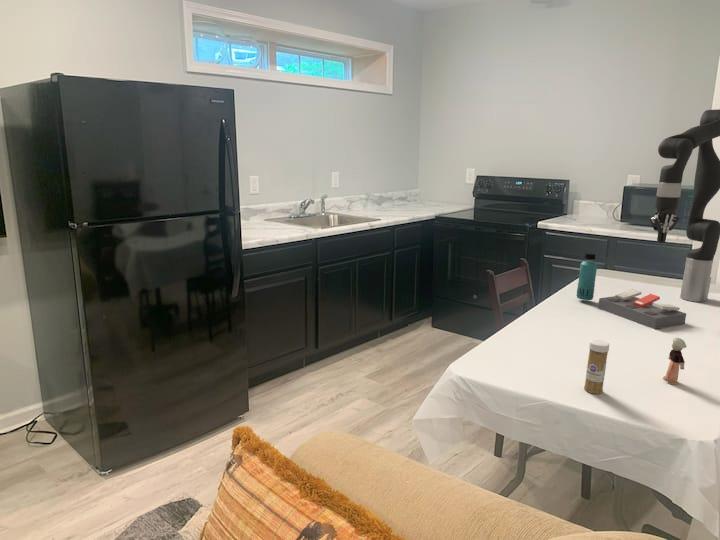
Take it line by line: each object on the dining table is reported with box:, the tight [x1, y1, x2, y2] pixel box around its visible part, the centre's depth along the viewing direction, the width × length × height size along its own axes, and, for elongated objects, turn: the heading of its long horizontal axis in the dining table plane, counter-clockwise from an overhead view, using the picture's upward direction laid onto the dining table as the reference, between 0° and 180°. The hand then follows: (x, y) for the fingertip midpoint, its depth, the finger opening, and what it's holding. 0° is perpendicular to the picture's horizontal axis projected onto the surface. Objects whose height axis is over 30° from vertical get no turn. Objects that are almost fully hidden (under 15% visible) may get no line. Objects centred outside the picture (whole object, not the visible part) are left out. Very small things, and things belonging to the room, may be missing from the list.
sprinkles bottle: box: [583, 339, 610, 395], centre depth 138 cm, size 5×5×13 cm
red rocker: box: [633, 293, 661, 307], centre depth 199 cm, size 9×4×2 cm, turn 112°
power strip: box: [597, 295, 687, 330], centre depth 199 cm, size 15×25×4 cm, turn 23°
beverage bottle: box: [576, 252, 598, 301], centre depth 213 cm, size 6×7×20 cm
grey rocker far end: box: [652, 302, 681, 311], centre depth 192 cm, size 9×4×2 cm, turn 113°
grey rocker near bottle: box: [614, 288, 642, 300], centre depth 206 cm, size 9×4×2 cm, turn 113°
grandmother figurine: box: [662, 337, 688, 386], centre depth 143 cm, size 8×4×13 cm, turn 5°
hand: (660, 242), depth 198 cm, fingers closed
